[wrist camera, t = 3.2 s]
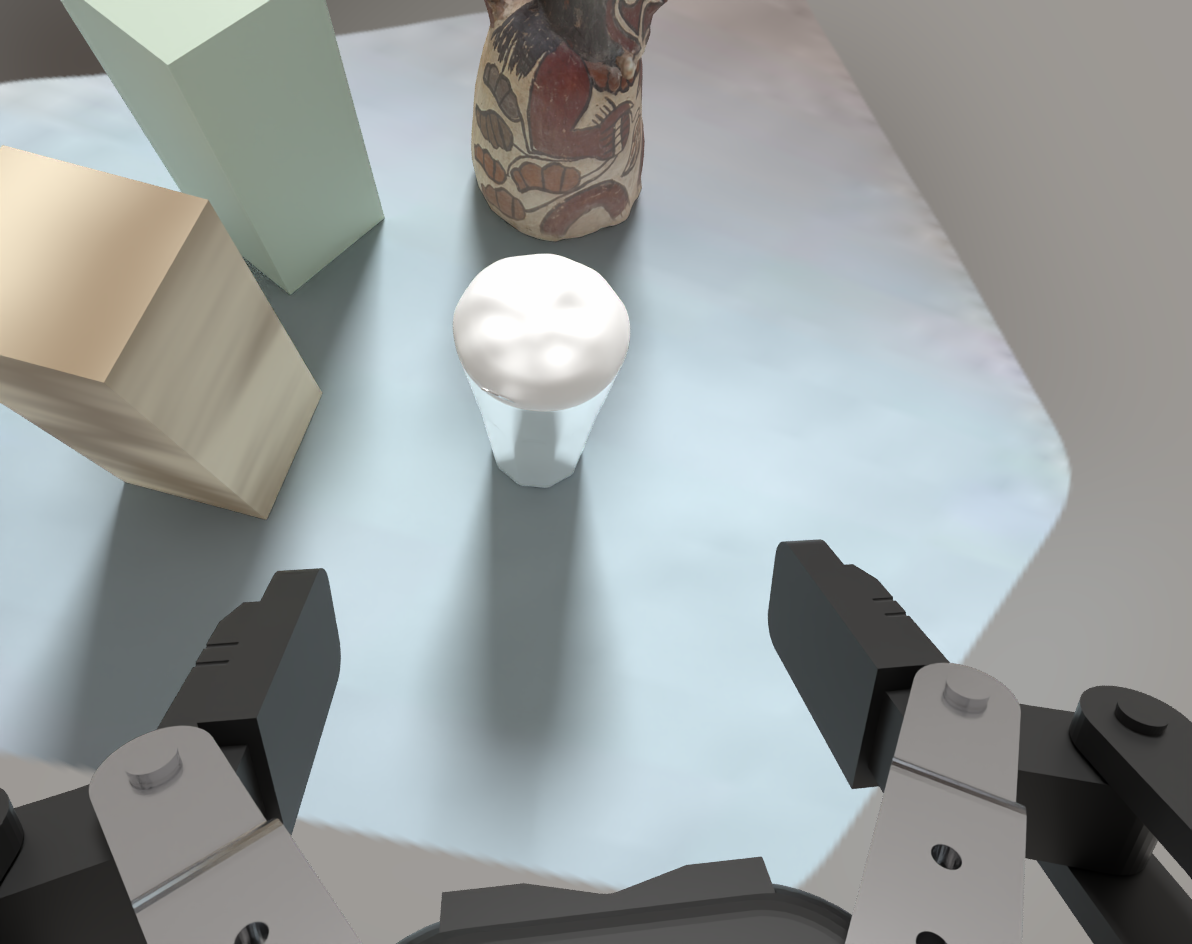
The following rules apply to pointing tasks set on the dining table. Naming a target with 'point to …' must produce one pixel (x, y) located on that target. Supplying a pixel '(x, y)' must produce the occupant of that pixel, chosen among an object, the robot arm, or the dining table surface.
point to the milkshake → (540, 359)
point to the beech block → (144, 336)
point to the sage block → (246, 119)
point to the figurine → (561, 113)
